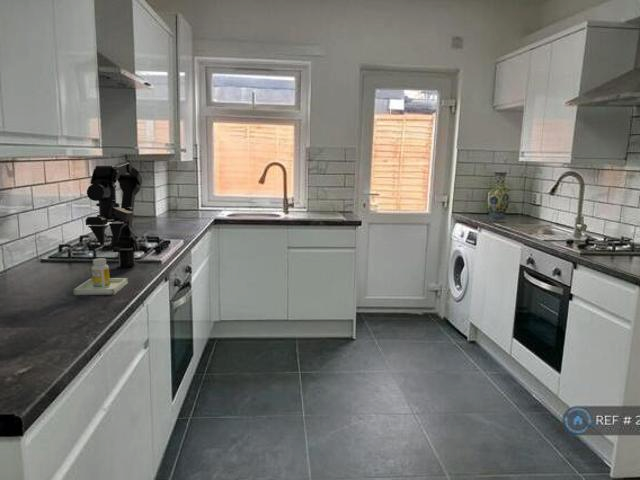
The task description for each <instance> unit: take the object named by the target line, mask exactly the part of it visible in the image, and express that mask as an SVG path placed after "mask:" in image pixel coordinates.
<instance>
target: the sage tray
mask: <svg viewBox="0 0 640 480" xmlns="http://www.w3.org/2000/svg"><path fill="white" fill-rule="evenodd" d="M127 284H129V277H110V286H109V287H107V288H103V289H95V288H94V287H93V279H92V277H91V278H90V277H89V279H87V280H86V281H84V282H83V283H81V284H80V285H78V286H77V287H75V288H73V295H74V296H81V295H82V296H88V295H90V296H92V295H94V296H95V295H96V296H97V295H98V296H99V295H102V296H103V295H104V296H105V295H106V296H107V295H116V294H117V293H118V292H119V291H121V290H122V288H124V287H126V285H127Z"/></svg>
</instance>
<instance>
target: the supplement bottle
mask: <svg viewBox="0 0 640 480" xmlns="http://www.w3.org/2000/svg"><path fill="white" fill-rule="evenodd" d="M91 274H92V275H91V278H92V279H93V287H94V288H95V289H103V288H107V287H109V286H110V278H111V277H110V276H111V275H110V267H109V265H108V264H107V259H106V258H103V257H99V258H94V259H93V260H92V266H91Z"/></svg>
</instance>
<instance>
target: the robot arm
mask: <svg viewBox="0 0 640 480" xmlns="http://www.w3.org/2000/svg"><path fill="white" fill-rule="evenodd" d="M117 182H118V183H119V188H120V190H121V191H122V198H121V205H120V203H119V202H117V194H116V193H117V192H116V191H117V185H116V183H117ZM142 184H143V178H142V176H141V173H140V171H138V170H137V169H136V168H134V167H133V165H132V164H131V163H129V162H118V163H115V164H113V165H96V166H95V167H94V169H93V171H92V176H91V178H90V185H89V186H88V188H87V189H86V195H87V197H88V199H89V200H91V201H95V202H98V203H96V207H98V210H99V211H98V213H99V214H96V216H87V217H86V219H85V225H86V226H88V228H90V230H91V232H93V235H94V237H95V238H96V240H97V241H98V242H99V245H100V246H104V244H105V234H106V232H105V231H106V229H107V228H108V227H109V228H110V232H111V235H112V236H111V239H110V244H111V248H112V253H118V261H119V263H118V265H116V268H117V269H119V268H122V269H125V268H126V269H127V268H128V269H129V268H131V269H132V268H134V267H136V266H137V265H138V264H139V262H135V253H136V252H139V250H140V249H139V248H140V244H139V242H138V240H137V239H136V234H135V232H134V230H133V228H132V227H133V219H134V218H133V217H134V209H135V201H136V200H135V198H136V195H137V194H138V193H139V192H140V191H141V187H142ZM108 223H109V225H107V224H108Z"/></svg>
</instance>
